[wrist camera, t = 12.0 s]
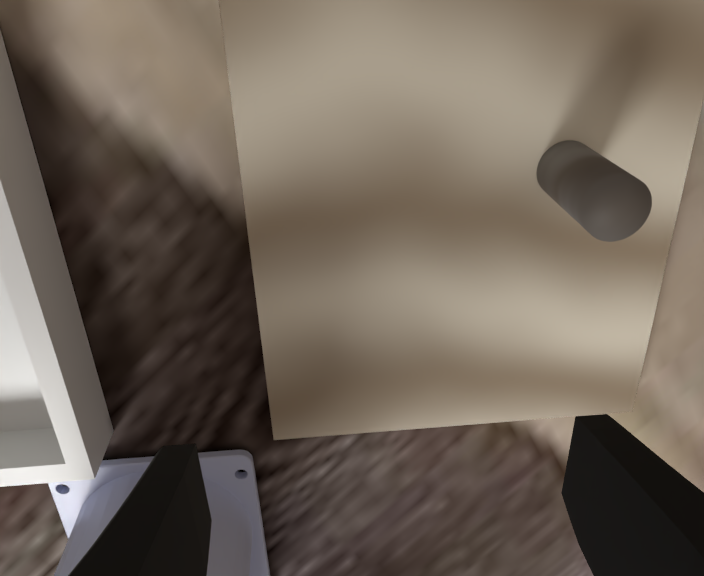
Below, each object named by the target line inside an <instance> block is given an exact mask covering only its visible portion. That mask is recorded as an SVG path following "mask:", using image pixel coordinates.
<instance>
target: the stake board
mask: <svg viewBox="0 0 704 576" xmlns="http://www.w3.org/2000/svg"><path fill="white" fill-rule="evenodd" d="M219 7H220V15H221V23H222V31H223V39H224V47H225V55H226V63H227V71H228V79H229V87H230V95H231V103H232V111H233V119H234V127H235V135H236V143H237V151H238V159H239V167H240V175H241V183H242V191H243V199H244V207H245V215H246V223H247V231H248V239H249V247H250V255H251V263H252V271H253V279H254V287H255V295H256V303H257V311H258V319H259V327H260V335H261V343H262V351H263V359H264V367H265V375H266V383H267V391H268V399H269V407H270V415H271V423H272V431H273V439H274V440H282V439H294V438H307V437H320V436H332V435H345V434H357V433H370V432H383V431H395V430H408V429H420V428H433V427H446V426H458V425H471V424H483V423H496V422H509V421H521V420H534V419H547V418H559V417H572V416H584V415H597V414H610V413H622V412H633V408H634V403H635V399H636V394H637V390H638V386H639V381H640V377H641V372H642V368H643V364H644V359H645V355H646V350H647V346H648V342H649V337H650V333H651V328H652V324H653V320H654V315H655V311H656V306H657V302H658V298H659V293H660V289H661V284H662V280H663V276H664V271H665V267H666V262H667V258H668V254H669V249H670V245H671V240H672V236H673V232H674V227H675V223H676V218H677V214H678V210H679V205H680V201H681V196H682V192H683V188H684V183H685V179H686V174H687V170H688V166H689V161H690V157H691V152H692V148H693V144H694V139H695V135H696V130H697V126H698V122H699V117H700V113H701V108H702V104H703V100H704V0H219Z"/></svg>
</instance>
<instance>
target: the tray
mask: <svg viewBox="0 0 704 576" xmlns="http://www.w3.org/2000/svg"><path fill="white" fill-rule="evenodd" d="M113 432H114V430H113V427H112V423H111V420H110V416H109V413H108V409H107V406H106V402H105V399H104V395H103V392H102V388H101V384H100V381H99V377H98V374H97V370H96V367H95V363H94V360H93V356H92V353H91V349H90V345H89V342H88V338H87V335H86V331H85V328H84V324H83V321H82V317H81V314H80V310H79V307H78V303H77V299H76V296H75V292H74V289H73V285H72V282H71V278H70V275H69V271H68V268H67V264H66V260H65V257H64V253H63V250H62V246H61V243H60V239H59V236H58V232H57V229H56V225H55V222H54V218H53V214H52V211H51V207H50V204H49V200H48V197H47V193H46V190H45V186H44V183H43V179H42V176H41V172H40V168H39V165H38V161H37V158H36V154H35V151H34V147H33V144H32V140H31V137H30V133H29V129H28V126H27V122H26V119H25V115H24V112H23V108H22V105H21V101H20V98H19V94H18V91H17V87H16V83H15V80H14V76H13V73H12V69H11V66H10V62H9V59H8V55H7V52H6V48H5V44H4V41H3V37H2V34H1V30H0V487H3V486H15V485H27V484H40V483H52V482H64V481H77V480H89V479H95V477H96V475H97V472H98V470H99V467H100V465H101V462H102V460H103V457H104V455H105V452H106V450H107V447H108V444H109V442H110V439H111V437H112V434H113Z"/></svg>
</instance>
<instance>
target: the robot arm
mask: <svg viewBox="0 0 704 576" xmlns="http://www.w3.org/2000/svg"><path fill="white" fill-rule="evenodd" d="M237 470H245V472H239V471H237ZM61 484H64V485H66V486H63V485H61ZM48 485H49V488H50V491H51V493H52V496H53V499H54V501H55V504H56V507H57V510H58V512H59V515H60V518H61V521H62V523H63V526H64V529H65V531H66V534H67V537H68V542H67V544H66V547H65V549H64V552H63V554H62V557H61V559H60V562H59V564H58V567H57V569H56V572H55V574H54V576H270V569H269V563H268V556H267V549H266V542H265V536H264V529H263V522H262V515H261V509H260V502H259V495H258V488H257V482H256V475H255V468H254V462H253V457H252V454H250V453H249V452H248V451H246V450H226V451H214V452H201V453H198V452H197V447H196V444H186V445H172V446H163V447H162V448H161V449H160V450H159V451H158V452H157V453H156V455H155V456H151V457H139V458H126V459H113V460H102V462H101V465H100V467H99V470H98V472H97V475H96V477H95V479H89V480H77V481H64V482H52V483H48ZM67 486H68V487H67ZM562 496H563V499H564V502H565V505H566V508H567V511H568V514H569V517H570V520H571V523H572V526H573V529H574V532H575V535H576V537H577V540H578V543H579V545H580V548H581V550H582V552H583V554H584V556H585V558H586V560H587V563H588V565H589V567H590V569H591V571H592V573H593V575H594V576H704V492H702V491H701V490H700V489H698V488H697V487H696V486H695V485H693V484H692V483H691V482H690V481H688V480H687V479H686V478H684V477H683V476H682V475H681V474H679V473H678V472H677V471H676V470H675V469H673V468H672V467H671V466H670V465H668V464H667V463H666V462H665V461H664V460H662V459H661V458H660V457H659V456H657V455H656V454H655V453H654V452H653V451H651V450H650V449H649V448H648V447H647V446H645V445H644V444H643V443H642V442H641V441H639V440H638V439H637V438H636V437H634V436H633V435H632V434H631V433H630V432H628V431H627V430H626V429H625V428H624V427H622V426H621V425H620V424H619V423H618V422H616V421H615V420H614V419H612V418H611V417H610V416H609V415H607V414H603V415H589V416H576V417H575V423H574V428H573V434H572V439H571V445H570V450H569V456H568V461H567V466H566V472H565V477H564V483H563V488H562Z"/></svg>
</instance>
